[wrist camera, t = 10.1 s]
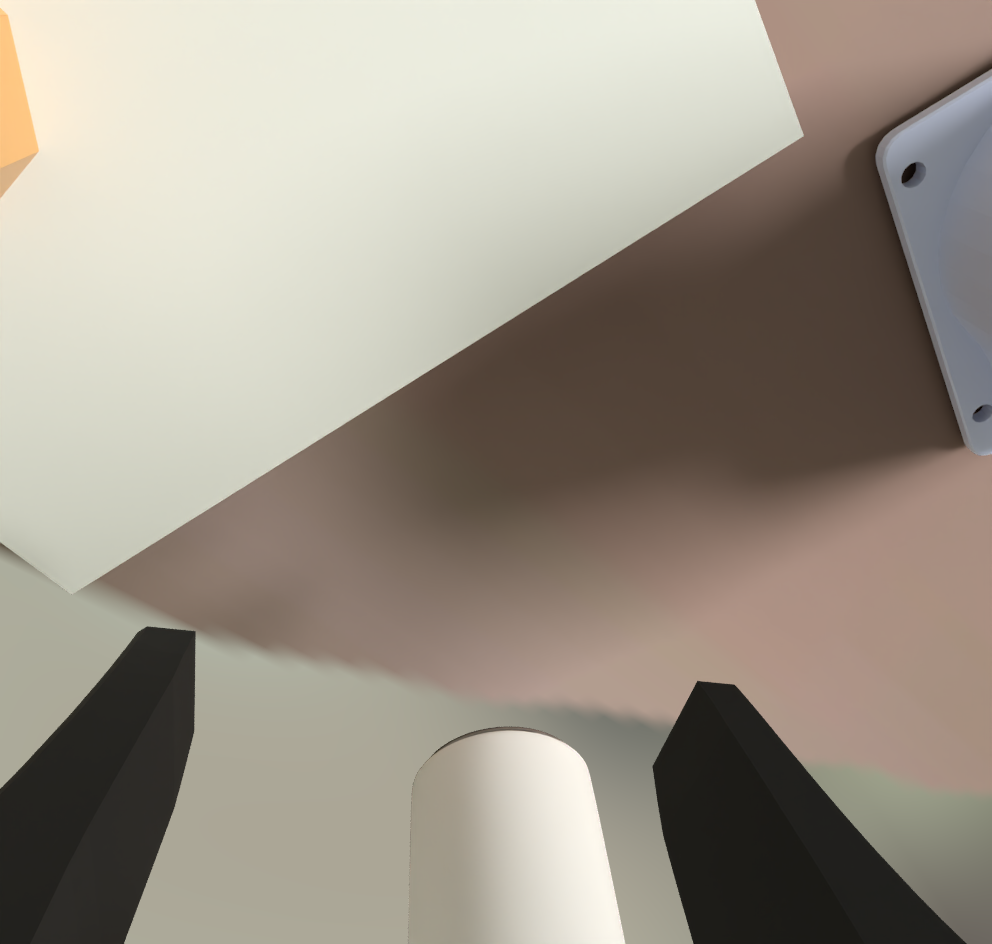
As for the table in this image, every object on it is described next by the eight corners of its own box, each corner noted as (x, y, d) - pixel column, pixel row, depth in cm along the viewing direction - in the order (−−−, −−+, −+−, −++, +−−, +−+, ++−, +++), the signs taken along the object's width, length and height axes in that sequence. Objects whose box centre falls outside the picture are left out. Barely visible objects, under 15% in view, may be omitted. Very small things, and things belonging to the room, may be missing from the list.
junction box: (743, 110, 16) (893, 172, 11) (116, 517, 20) (11, 698, 15) (290, -1023, 9) (97, -2437, 4) (-525, -16, 13) (-1131, -15, 8)
